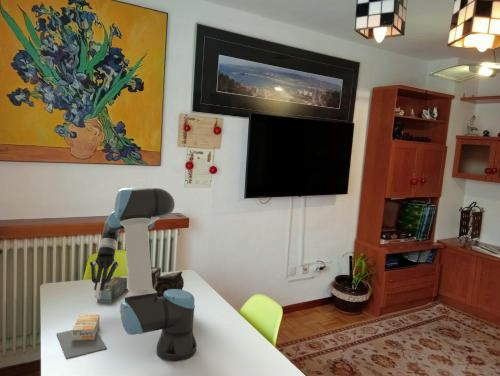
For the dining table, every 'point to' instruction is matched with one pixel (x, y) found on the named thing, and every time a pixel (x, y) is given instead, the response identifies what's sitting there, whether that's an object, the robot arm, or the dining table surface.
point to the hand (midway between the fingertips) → (97, 297)
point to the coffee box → (155, 276)
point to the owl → (169, 283)
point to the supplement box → (85, 327)
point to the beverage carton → (113, 289)
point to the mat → (79, 345)
